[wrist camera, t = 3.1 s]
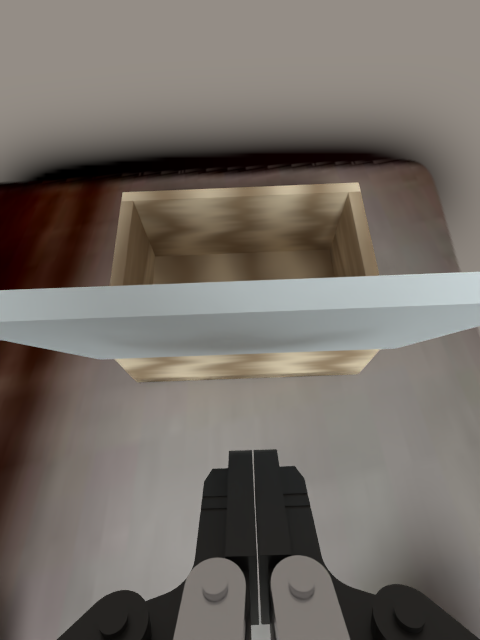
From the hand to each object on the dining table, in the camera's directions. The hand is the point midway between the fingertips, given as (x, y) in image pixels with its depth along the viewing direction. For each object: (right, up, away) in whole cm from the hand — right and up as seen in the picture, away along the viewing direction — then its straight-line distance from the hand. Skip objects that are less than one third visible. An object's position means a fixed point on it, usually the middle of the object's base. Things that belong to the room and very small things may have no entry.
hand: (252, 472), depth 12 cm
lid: (0, +5, +7) cm, 8 cm away
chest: (0, +6, +25) cm, 26 cm away
